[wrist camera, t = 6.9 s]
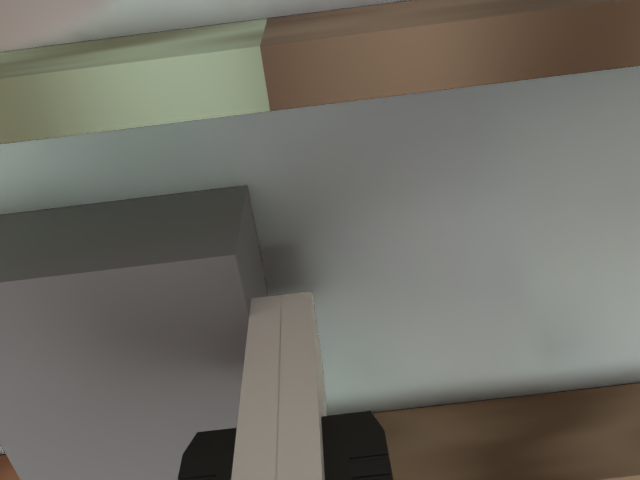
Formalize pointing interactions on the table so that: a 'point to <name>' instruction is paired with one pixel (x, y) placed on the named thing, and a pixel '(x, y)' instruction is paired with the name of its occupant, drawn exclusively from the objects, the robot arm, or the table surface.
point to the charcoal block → (123, 331)
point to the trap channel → (350, 85)
